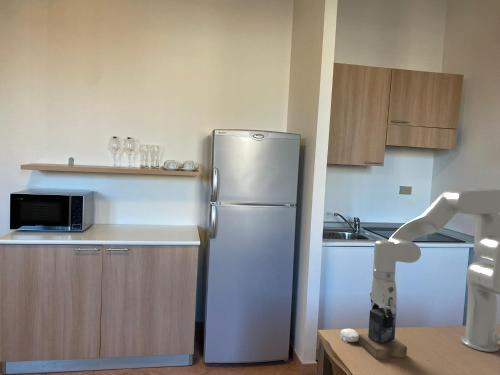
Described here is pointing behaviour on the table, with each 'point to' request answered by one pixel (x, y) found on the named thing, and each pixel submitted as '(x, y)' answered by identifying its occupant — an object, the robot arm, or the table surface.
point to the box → (380, 327)
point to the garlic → (349, 335)
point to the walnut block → (382, 348)
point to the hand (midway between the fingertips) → (381, 322)
